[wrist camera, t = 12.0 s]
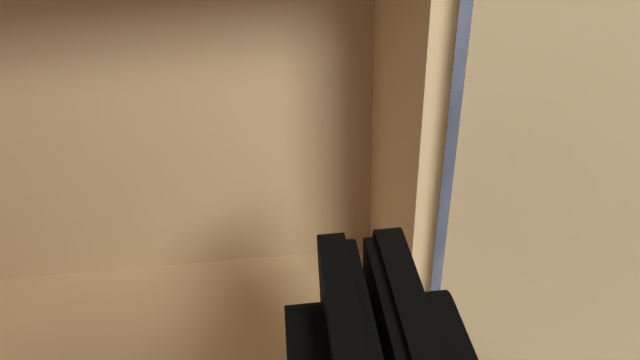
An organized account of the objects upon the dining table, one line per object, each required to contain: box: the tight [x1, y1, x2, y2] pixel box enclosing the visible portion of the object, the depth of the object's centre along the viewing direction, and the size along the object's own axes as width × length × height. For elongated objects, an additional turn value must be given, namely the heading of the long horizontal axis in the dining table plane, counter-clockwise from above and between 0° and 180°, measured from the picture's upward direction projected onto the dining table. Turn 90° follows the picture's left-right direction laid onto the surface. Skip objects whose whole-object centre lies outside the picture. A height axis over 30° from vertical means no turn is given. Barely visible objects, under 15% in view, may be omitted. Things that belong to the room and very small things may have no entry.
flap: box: [440, 0, 640, 360], centre depth 12 cm, size 14×6×1 cm
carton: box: [0, 0, 460, 360], centre depth 16 cm, size 16×18×7 cm
